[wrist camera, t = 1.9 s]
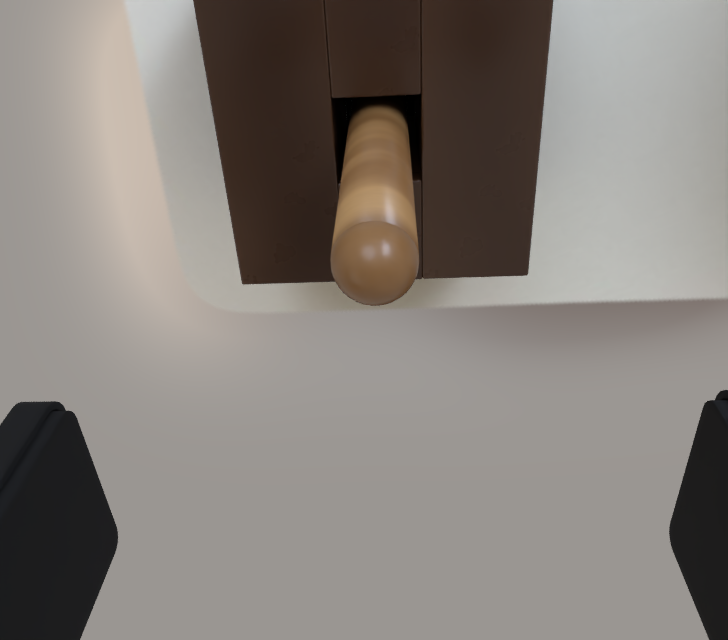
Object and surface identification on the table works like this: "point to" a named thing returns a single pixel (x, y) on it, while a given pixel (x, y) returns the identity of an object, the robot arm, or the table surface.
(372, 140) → the stick
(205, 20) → the holder
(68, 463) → the robot arm
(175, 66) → the table surface
